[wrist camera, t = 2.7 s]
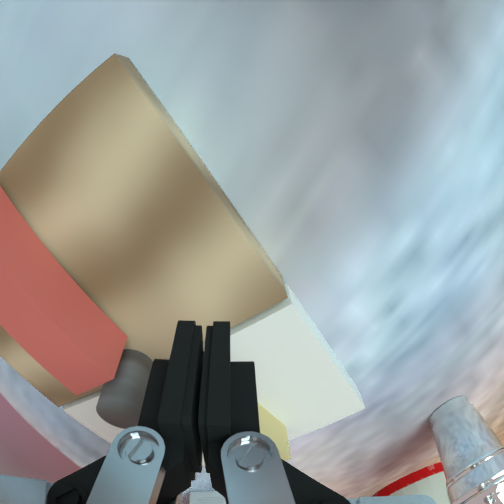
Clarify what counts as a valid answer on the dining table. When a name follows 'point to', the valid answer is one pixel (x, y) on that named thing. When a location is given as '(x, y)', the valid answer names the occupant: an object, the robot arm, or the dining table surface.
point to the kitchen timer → (420, 484)
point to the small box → (206, 497)
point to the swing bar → (52, 310)
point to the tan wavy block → (132, 230)
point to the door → (273, 377)
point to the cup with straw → (468, 454)
